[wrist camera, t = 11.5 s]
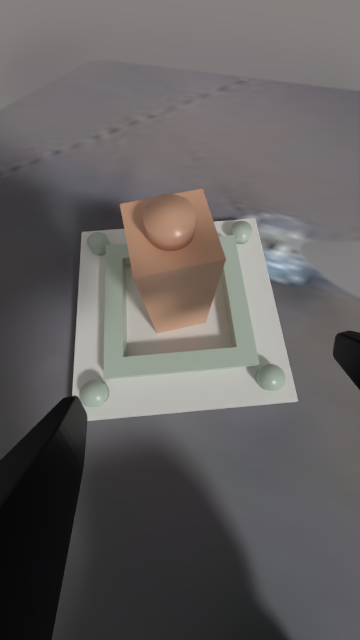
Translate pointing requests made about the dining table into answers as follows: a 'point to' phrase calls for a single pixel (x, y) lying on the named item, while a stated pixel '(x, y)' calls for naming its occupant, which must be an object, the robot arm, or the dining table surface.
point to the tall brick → (174, 257)
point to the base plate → (177, 336)
